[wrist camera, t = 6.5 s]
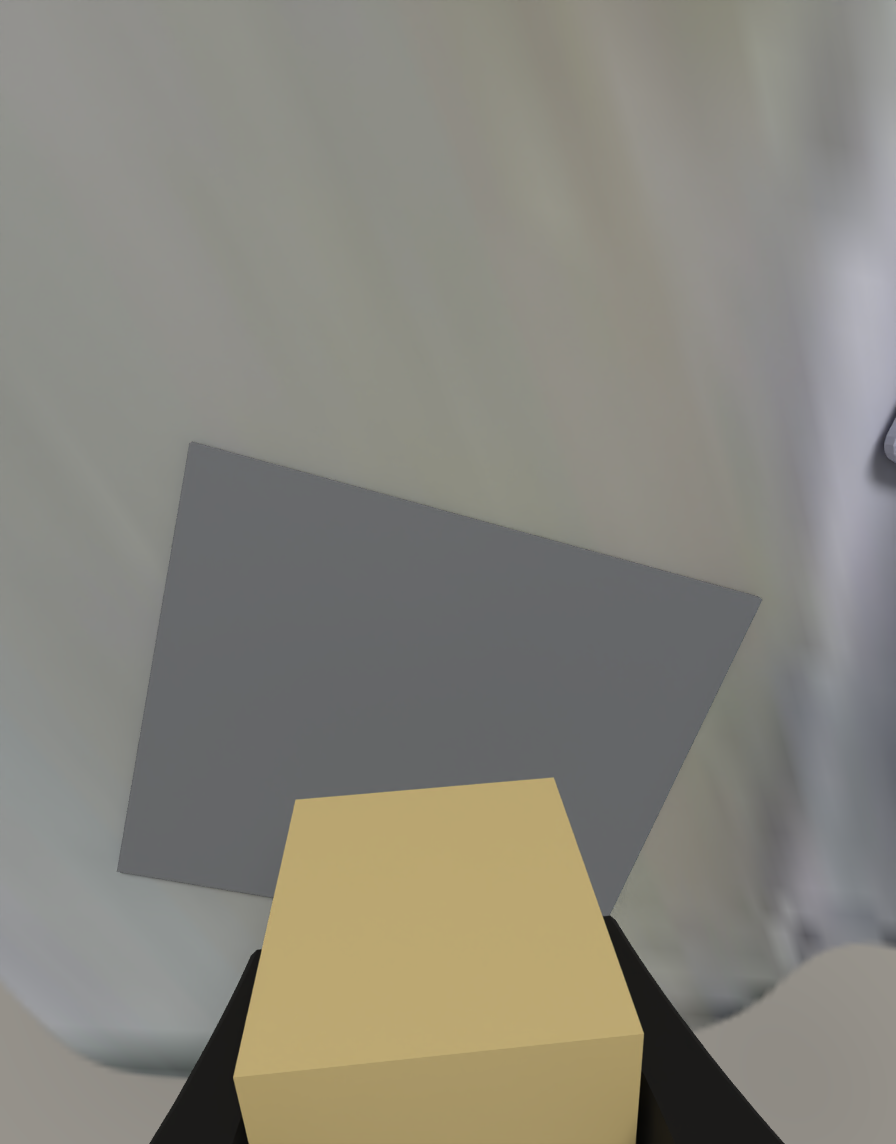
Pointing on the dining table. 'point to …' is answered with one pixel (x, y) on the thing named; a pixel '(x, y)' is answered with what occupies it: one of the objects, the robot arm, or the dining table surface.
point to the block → (438, 979)
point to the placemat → (403, 672)
